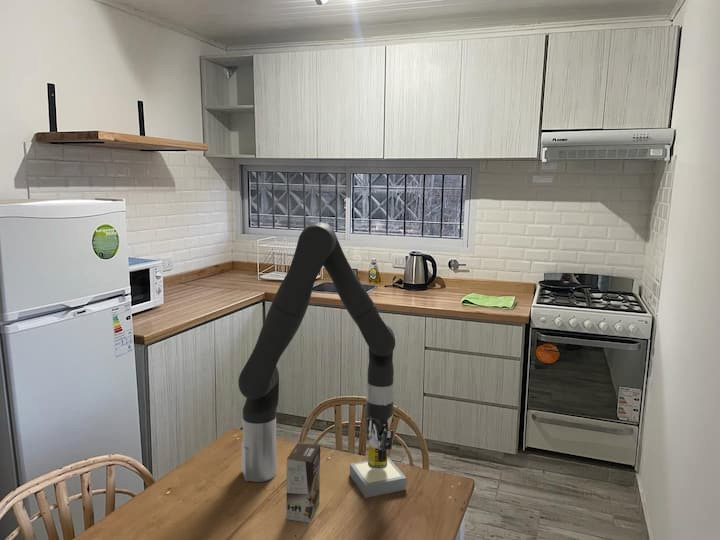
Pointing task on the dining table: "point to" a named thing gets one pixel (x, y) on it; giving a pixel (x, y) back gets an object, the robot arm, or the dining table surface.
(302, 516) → the coffee box
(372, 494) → the block
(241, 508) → the dining table surface
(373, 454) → the supplement bottle
